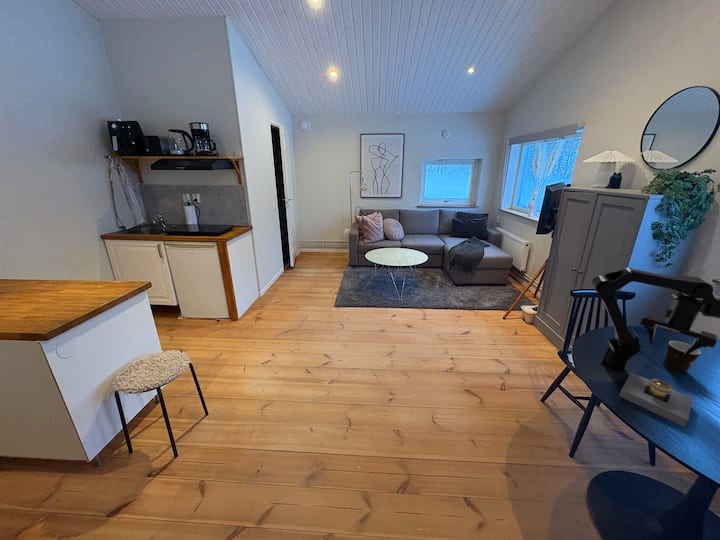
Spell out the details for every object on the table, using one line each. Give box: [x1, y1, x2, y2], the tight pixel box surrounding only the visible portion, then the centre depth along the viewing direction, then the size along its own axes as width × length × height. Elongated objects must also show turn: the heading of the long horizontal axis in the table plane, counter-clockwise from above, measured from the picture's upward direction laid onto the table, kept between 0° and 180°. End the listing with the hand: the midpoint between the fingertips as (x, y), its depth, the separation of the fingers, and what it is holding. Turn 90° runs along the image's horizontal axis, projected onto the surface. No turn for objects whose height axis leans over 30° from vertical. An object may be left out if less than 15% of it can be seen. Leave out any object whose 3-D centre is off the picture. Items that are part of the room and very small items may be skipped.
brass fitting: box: [647, 378, 674, 402], centre depth 99 cm, size 5×5×7 cm
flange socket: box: [618, 372, 694, 428], centre depth 100 cm, size 16×14×3 cm
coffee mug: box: [662, 340, 702, 375], centre depth 114 cm, size 12×9×10 cm
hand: (667, 349), depth 108 cm, fingers open, 9 cm apart
